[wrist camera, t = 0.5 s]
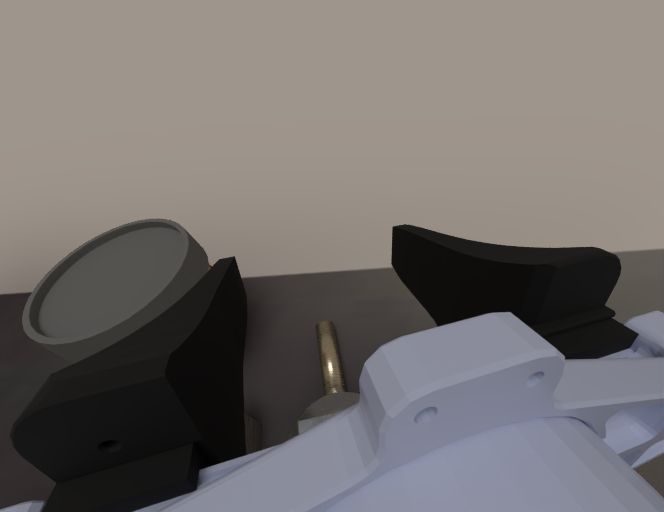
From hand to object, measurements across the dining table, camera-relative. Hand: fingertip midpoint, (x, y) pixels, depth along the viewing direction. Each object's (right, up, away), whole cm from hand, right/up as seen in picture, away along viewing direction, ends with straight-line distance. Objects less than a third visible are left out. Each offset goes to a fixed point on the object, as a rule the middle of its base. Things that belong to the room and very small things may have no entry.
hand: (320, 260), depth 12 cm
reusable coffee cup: (-14, -11, +20) cm, 27 cm away
